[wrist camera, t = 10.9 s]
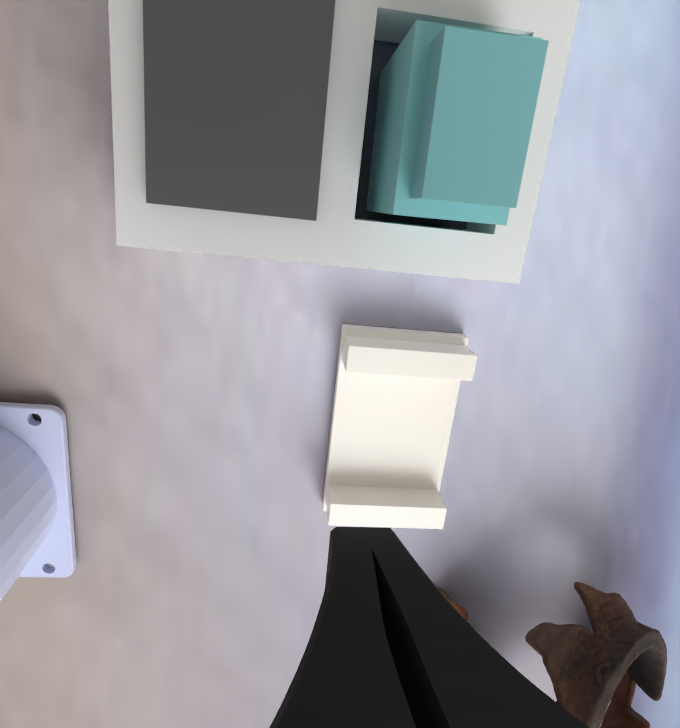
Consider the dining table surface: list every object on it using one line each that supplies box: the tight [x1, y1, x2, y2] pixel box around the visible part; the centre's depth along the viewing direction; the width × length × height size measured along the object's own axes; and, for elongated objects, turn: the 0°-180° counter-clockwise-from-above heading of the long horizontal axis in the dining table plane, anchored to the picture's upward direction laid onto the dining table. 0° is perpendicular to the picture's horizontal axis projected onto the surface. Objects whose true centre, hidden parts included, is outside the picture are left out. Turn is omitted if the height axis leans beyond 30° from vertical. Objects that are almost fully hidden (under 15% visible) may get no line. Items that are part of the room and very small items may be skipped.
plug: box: [366, 20, 549, 226], centre depth 15 cm, size 3×4×6 cm
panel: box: [108, 0, 581, 284], centre depth 16 cm, size 13×9×3 cm
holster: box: [323, 324, 477, 529], centre depth 20 cm, size 5×8×2 cm, turn 174°
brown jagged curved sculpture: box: [438, 582, 667, 728], centre depth 23 cm, size 12×10×8 cm
